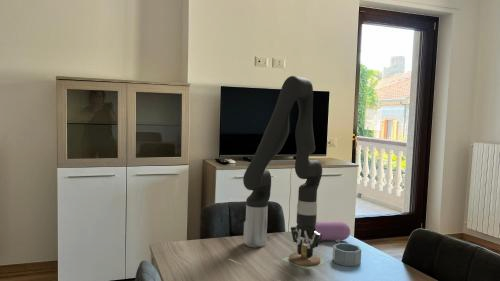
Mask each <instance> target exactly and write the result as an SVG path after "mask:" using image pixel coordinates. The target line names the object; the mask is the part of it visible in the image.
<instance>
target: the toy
mask: <svg viewBox="0 0 500 281" xmlns="http://www.w3.org/2000/svg"><path fill="white" fill-rule="evenodd" d="M315 229H316V232H318V233H319V234H320V233H321V234H322V237H321V239H320V241H335V243H342V241H344V240H347V239H348V238H349V237H350V234H351V229H350V226H349V224H347V223H345V222H342V221H326V222H324V221H322V222H321V221H319V222H318V221H316V225H315ZM313 237H314V235H313Z"/></svg>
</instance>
